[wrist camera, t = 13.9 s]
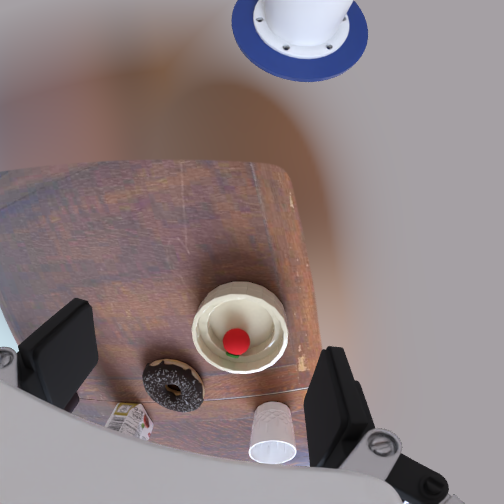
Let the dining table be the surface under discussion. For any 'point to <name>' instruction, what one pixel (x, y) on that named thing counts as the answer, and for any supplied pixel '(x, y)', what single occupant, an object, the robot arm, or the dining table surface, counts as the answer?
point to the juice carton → (130, 420)
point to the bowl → (241, 326)
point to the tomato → (236, 342)
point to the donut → (173, 373)
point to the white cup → (272, 434)
